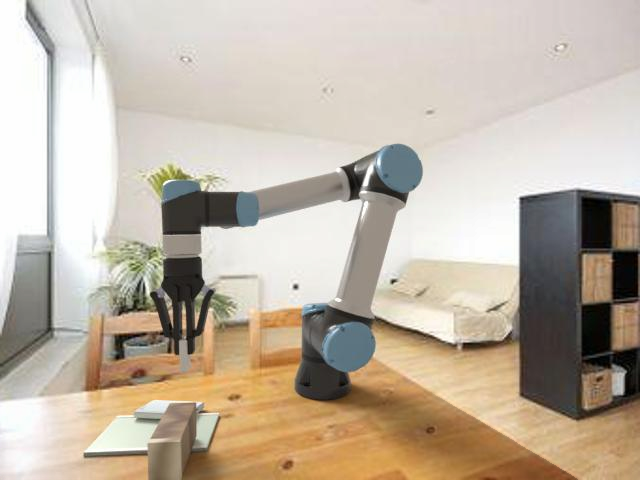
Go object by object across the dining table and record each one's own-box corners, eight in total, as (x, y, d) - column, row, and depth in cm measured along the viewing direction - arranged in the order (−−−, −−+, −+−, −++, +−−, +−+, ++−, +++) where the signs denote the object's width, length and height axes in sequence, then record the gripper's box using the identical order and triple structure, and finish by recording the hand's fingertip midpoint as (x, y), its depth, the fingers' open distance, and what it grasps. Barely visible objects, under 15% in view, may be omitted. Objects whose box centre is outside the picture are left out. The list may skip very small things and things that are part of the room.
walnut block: (196, 402, 73) (179, 441, 61) (196, 436, 74) (180, 481, 62) (169, 402, 73) (147, 442, 61) (170, 437, 73) (148, 483, 61)
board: (219, 415, 84) (219, 412, 84) (206, 451, 70) (206, 447, 70) (117, 418, 82) (117, 415, 82) (83, 456, 68) (83, 452, 68)
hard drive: (133, 411, 81) (188, 413, 80) (154, 399, 89) (204, 400, 88) (133, 419, 81) (188, 421, 79) (154, 406, 89) (204, 408, 87)
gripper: (218, 254, 81) (220, 362, 82) (156, 255, 80) (158, 365, 80) (211, 256, 74) (213, 375, 74) (142, 258, 72) (145, 378, 73)
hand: (185, 369), depth 77 cm, fingers closed
